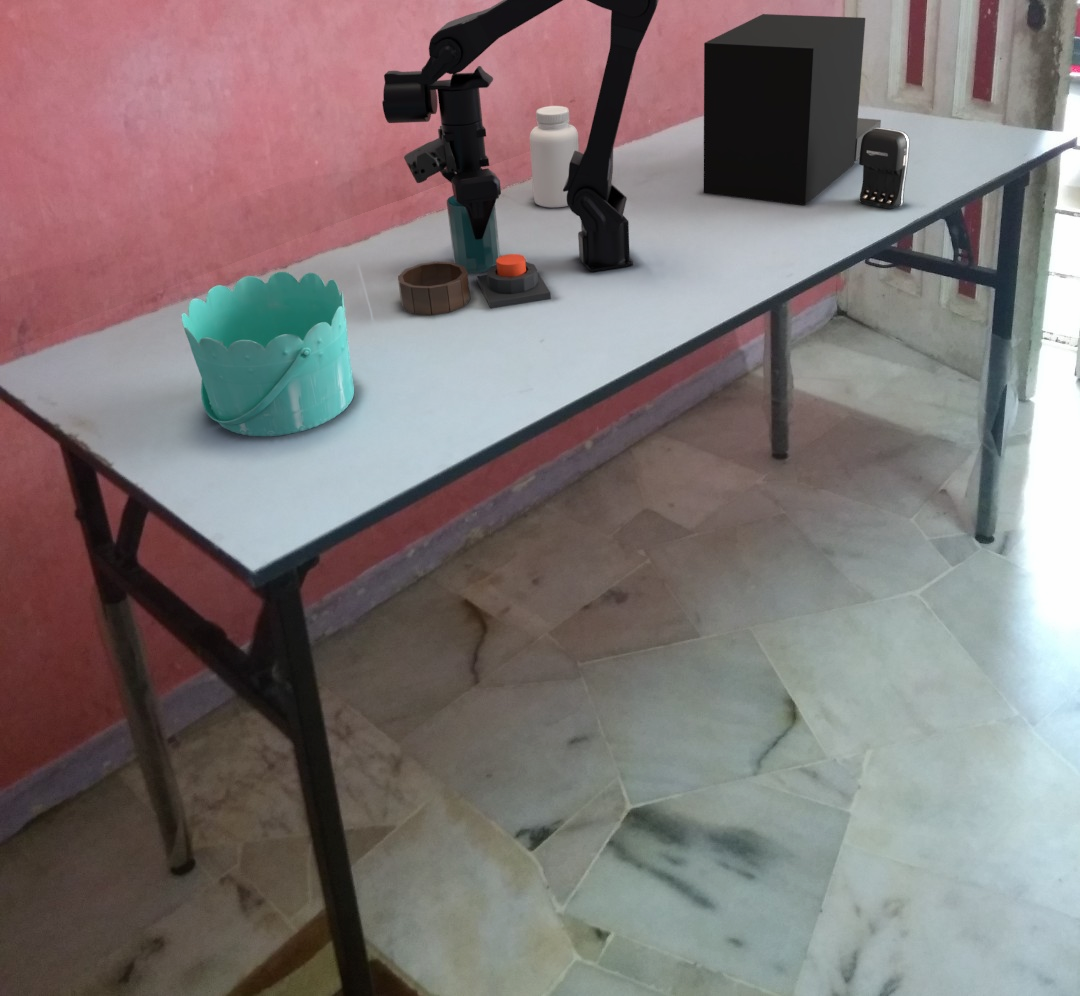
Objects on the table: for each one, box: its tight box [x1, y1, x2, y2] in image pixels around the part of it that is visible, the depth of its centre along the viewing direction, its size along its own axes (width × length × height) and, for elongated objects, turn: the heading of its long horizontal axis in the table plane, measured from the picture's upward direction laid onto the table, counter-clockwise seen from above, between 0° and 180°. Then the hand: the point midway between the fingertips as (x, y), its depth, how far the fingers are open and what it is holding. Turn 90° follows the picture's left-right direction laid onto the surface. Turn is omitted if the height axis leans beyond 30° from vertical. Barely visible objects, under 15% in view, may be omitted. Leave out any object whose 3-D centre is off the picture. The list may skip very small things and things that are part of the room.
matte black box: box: [702, 13, 882, 206], centre depth 191 cm, size 18×35×24 cm, turn 148°
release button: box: [496, 253, 526, 277], centre depth 159 cm, size 4×4×2 cm
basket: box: [180, 271, 355, 437], centre depth 133 cm, size 19×18×13 cm
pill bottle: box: [529, 105, 580, 208], centre depth 188 cm, size 8×8×15 cm
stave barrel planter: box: [397, 261, 471, 316], centre depth 158 cm, size 9×9×4 cm
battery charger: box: [858, 127, 911, 209], centre depth 176 cm, size 7×4×11 cm, turn 45°
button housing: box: [476, 261, 552, 309], centre depth 160 cm, size 10×8×3 cm
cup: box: [446, 194, 501, 274], centre depth 167 cm, size 7×7×10 cm
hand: (473, 228), depth 167 cm, fingers open, 9 cm apart
